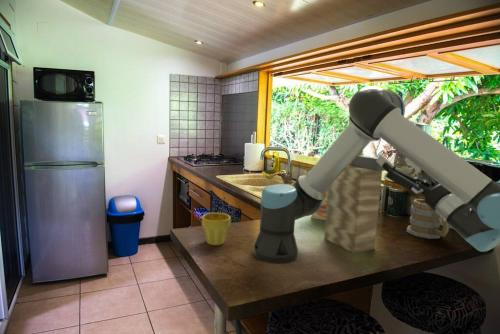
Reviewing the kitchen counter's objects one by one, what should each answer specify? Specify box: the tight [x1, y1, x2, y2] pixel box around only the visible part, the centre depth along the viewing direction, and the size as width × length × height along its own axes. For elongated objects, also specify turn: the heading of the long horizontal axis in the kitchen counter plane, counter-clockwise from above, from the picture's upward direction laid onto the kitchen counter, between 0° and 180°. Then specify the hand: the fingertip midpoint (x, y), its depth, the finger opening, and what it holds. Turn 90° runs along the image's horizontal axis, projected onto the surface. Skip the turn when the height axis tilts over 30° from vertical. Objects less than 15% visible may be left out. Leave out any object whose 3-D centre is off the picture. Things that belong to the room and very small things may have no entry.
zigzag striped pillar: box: [324, 166, 383, 254], centre depth 124 cm, size 16×10×30 cm, turn 28°
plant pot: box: [201, 212, 232, 246], centre depth 121 cm, size 10×10×10 cm
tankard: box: [406, 198, 450, 240], centre depth 138 cm, size 20×13×15 cm, turn 14°
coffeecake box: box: [310, 189, 328, 221], centre depth 157 cm, size 15×7×20 cm, turn 67°
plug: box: [349, 149, 387, 172], centre depth 120 cm, size 20×6×6 cm, turn 28°
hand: (393, 157), depth 108 cm, fingers open, 13 cm apart
